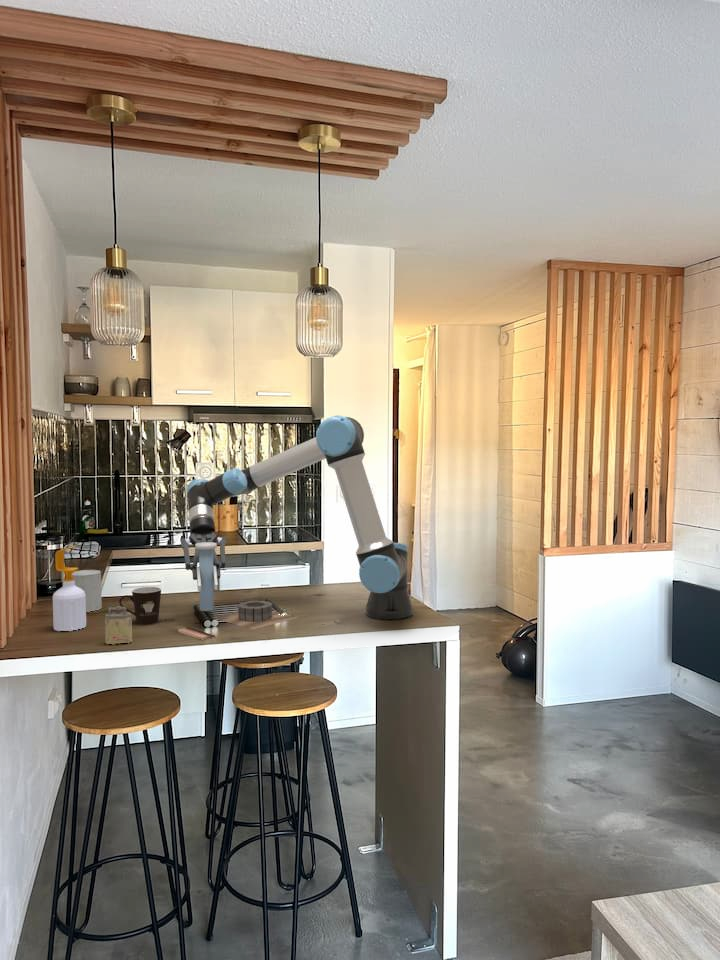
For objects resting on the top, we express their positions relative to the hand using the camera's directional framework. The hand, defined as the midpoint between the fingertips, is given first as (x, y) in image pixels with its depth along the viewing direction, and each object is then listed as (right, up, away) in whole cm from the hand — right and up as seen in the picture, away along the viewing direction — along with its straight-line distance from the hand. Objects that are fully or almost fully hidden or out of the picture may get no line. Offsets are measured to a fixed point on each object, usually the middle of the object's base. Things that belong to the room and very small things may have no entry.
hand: (207, 587), depth 200 cm
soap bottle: (-43, -14, +9) cm, 46 cm away
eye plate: (+11, -13, +15) cm, 23 cm away
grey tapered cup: (-47, -12, +31) cm, 58 cm away
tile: (-1, -14, +4) cm, 14 cm away
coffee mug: (-23, -13, +15) cm, 31 cm away
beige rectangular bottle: (-23, -14, -6) cm, 28 cm away
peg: (-1, -7, +4) cm, 8 cm away
